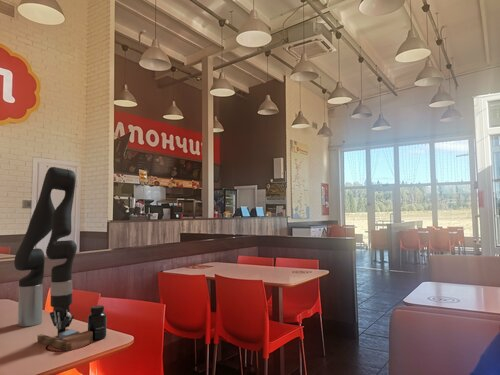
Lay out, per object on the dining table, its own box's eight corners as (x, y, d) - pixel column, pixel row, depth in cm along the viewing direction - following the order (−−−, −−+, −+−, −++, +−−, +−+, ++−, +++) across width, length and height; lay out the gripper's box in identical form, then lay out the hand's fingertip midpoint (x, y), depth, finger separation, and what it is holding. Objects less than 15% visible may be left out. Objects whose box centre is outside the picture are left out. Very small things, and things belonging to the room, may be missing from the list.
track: (37, 341, 141) (37, 331, 141) (62, 334, 149) (62, 324, 149) (67, 351, 130) (67, 339, 130) (92, 342, 138) (92, 331, 139)
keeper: (58, 344, 138) (58, 333, 138) (71, 340, 142) (71, 329, 142) (66, 346, 135) (66, 335, 135) (78, 342, 139) (78, 331, 139)
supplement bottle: (99, 341, 139) (99, 309, 140) (83, 340, 141) (83, 308, 141) (110, 335, 146) (110, 304, 147) (94, 334, 147) (94, 304, 148)
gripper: (42, 292, 142) (42, 338, 141) (61, 296, 135) (61, 344, 134) (61, 289, 149) (61, 332, 148) (80, 292, 141) (80, 338, 140)
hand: (61, 338), depth 141 cm, fingers closed
